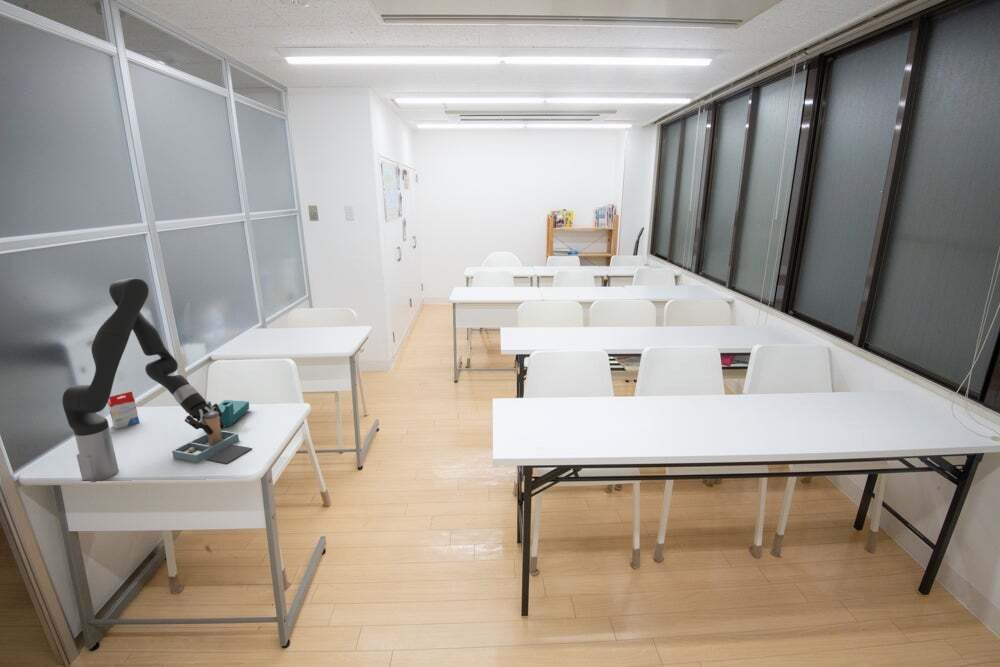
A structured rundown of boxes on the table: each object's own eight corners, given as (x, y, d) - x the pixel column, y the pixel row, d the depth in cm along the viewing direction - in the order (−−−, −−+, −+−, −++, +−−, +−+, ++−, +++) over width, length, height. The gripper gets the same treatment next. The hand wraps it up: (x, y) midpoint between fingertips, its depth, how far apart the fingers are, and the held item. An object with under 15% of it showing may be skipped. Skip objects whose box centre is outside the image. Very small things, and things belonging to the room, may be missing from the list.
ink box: (136, 419, 216) (130, 388, 212) (139, 422, 213) (133, 391, 209) (112, 426, 210) (105, 394, 206) (115, 429, 207) (108, 397, 203)
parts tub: (197, 462, 180) (196, 455, 179) (173, 457, 183) (171, 450, 183) (239, 440, 197) (237, 433, 197) (215, 435, 201) (214, 429, 200)
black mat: (226, 464, 179) (226, 463, 179) (205, 460, 182) (205, 458, 182) (252, 449, 190) (252, 448, 190) (231, 445, 193) (231, 444, 193)
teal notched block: (230, 429, 209) (228, 406, 206) (203, 427, 208) (202, 404, 205) (249, 411, 226) (248, 390, 223) (225, 410, 225) (224, 388, 223)
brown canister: (215, 447, 191) (210, 417, 188) (205, 445, 192) (200, 415, 189) (226, 442, 196) (221, 412, 192) (216, 440, 197) (211, 410, 194)
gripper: (176, 399, 184) (206, 433, 184) (208, 386, 198) (236, 417, 197) (168, 410, 187) (197, 444, 187) (200, 397, 200) (228, 428, 200)
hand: (217, 430), depth 192 cm, fingers closed on brown canister, 4 cm apart
